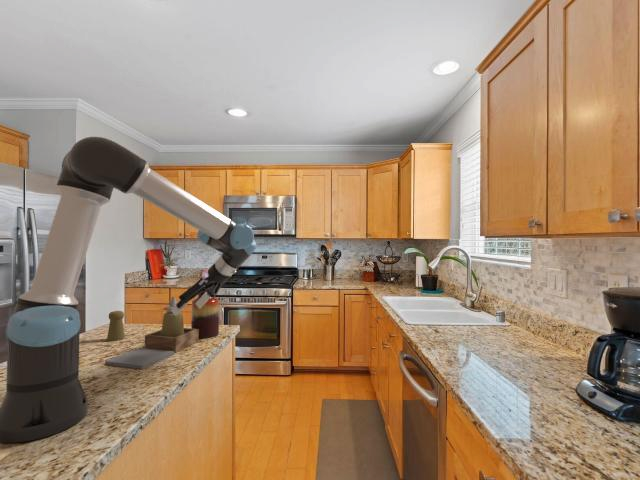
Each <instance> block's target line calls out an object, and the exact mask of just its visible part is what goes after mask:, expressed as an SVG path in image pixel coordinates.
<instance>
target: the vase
mask: <svg viewBox="0 0 640 480" xmlns="http://www.w3.org/2000/svg"><path fill="white" fill-rule="evenodd" d="M203 288H204V287H203ZM204 289H205V288H204ZM205 292H207V293H208V290H206V291H205ZM205 292H201V293H200V294H198V295H197V296H196V297H195V298H193V299H191V320H190V321H191V326H190V327H191V329H199V340H201V339H211V338H215V337H218V336H219V334H220V299H219V298H217V297H216V296H215V297H214V298H212V297H211V298H210V299H209V300H208V301H207V302H206V303H205V304H204V305H203V306H202V307H201V308H200V309H199V308H198V306H197V305H196V304H195V303H196V302H197V301H198V300H199V299H200V298H201V297H202V296H203V294H204V293H205Z"/></svg>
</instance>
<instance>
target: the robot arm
mask: <svg viewBox="0 0 640 480" xmlns="http://www.w3.org/2000/svg"><path fill="white" fill-rule="evenodd" d="M55 188H56V189H57V191H58V192H59V193H60V199H59V201H58V205H57V207H56V211H55V213H54V216H53V220H52V222H51V225H50V229H49V232H48V235H47V238H46V241H45V243H44V247H43V250H42V253H41V256H40V259H39V262H38V265H37V267H36V271H35V274H34V277H33V280H32V282H31V283H32V284H31V286H30V288H29V290H28V291H26V292H25V293H24V292H23V293H22V294H20V295H19V296H18V298H17V302H16V305H15V308H14V311H13V313H12V315H11V316H10V318H9V319H8V322H7V323H6V324H7V325H6V327H5V338H6V345H7V346H6V347H7V349H6V350H7V353H6V356H7V357H6V387H5V388H6V389H5V390H6V391H5V395H4V398H3V400H2V402H1V404H0V443H3V444H4V443H6V444H13V443H15V444H16V443H23V442H31V441H35V440H39V439H40V440H41V439H43V438H47V437H50V436H53V435H56V434H58V433H61V432H63V431H65V430H67V429H69V428H71V427H73V426H75V425H77V424H78V423H79V422H81V421H82V420H83V419H84V418H85V417H86V416H87V414H88V399H87V397H86V394H85V390H84V389H83V386H82V384H81V381H80V377H79V374H80V373H79V372H80V371H79V370H80V367H79V365H80V329H81V325H82V321H81V318H80V312H79V311H78V310H77V309H78V306H79V301H78V300H77V298H76V297H75V291H76V288H77V285H78V281H79V279H80V276H81V272H82V269H83V266H84V262H85V259H86V256H87V253H88V249H89V246H90V243H91V239H92V236H93V233H94V230H95V226H96V223H97V221H98V217H99V213H100V210H101V207H102V206H103V205H106V204H107V203H109V202H110V201H111V198H112V194H113V191H114V189H115V190H117V191H119V192H121V193H123V194H126V195H127V194H128V195H129V194H134V195H135V196H137V197H139V198H141V199H143V200H144V201H146V202H148V203H150V204H151V205H153V206H155V207H157V208H159V209H160V210H162V211H164V212H166V213H167V214H169V215H171V216H173V217H175V218H176V219H178V220H179V221H182V222H184V223H185V224H186V225H187V224H188V225H189V226H191V227H192V228H195V229H196V230H198V231H197V234H196V235H197V236H196V239H197V240H198V241H199V242H201V243H203V244H204V245H205V246H208V247H210V248H212V249H214V250H215V251H217V252H220V253H221V255H220V256H219V257H218V258H217V259H216V260H215V262H214V263H212V265H211V266H210V267H209V269H208V270H207V274H208V275H207V277H205V278H202V277H200V279H198V281H197V282H196V283H194V284H193V285H192V286H191V287H189V288H188V289H187V290H186V291H184V292H182V293H181V294H180V295H179V296H178V299H179V301H178V302H176V303H177V304H176V305H175V306H174V307H173V308H172V309H171V311H172V312H173V314H174V315H175V316H177V315H178V314H179V313H180V312H182V311H183V309H185V307H186V306H187V305H188V304H189V302H190V301H192V300H194V299H195V298H197V297H198V294H200V293H201V292H205V291H206V290H208V293H207V292H205V293H204V294H203V296H202V297H201V298H200V299H199V300H198V301H197V302H196V303H195V304H196V305H197V306H198V308H199V309H200V308H201V307H202V306H203V305H204V304H205V303H206V302H207V301H208V300H209V299H210V298H211V297H212V298H214V297H215V298H216V296H215V295H217V294H218V293H219V291H220V290H221V287H222V286H223V284H225V283H226V282H227V281H229V280H230V278H231V276H232V275H234V274H236V273H237V270H238V269H239V268H240V267H241V266H242V265H243V263H245V262H246V260H248V258H250V256H252V254H253V253H254V251H255V250H256V249H257V242H256V240H255V235H254V231H253V228H252V227H251V226H249V225H248V224H244V223H238V222H236V221H234V220H233V219H231V218H229V217H227V216H226V215H224V214H223V213H222V212H219V211H218V210H216V209H215V208H213V207H212V206H211V205H209V204H207V203H205V202H203V201H202V200H200V199H199V198H198V197H196V196H194V195H192V194H191V193H190V192H188V191H187V190H185V189H183V188H181V187H180V186H178V185H177V184H175V183H174V182H172V181H171V180H169V179H167V178H166V177H164V176H163V175H161V174H159V173H158V172H156V171H155V170H154V169H152V168H150V165H149V162H148V161H147V160H145V159H143V158H142V157H140V156H139V155H137V154H136V153H134V152H133V151H131V150H129V149H128V148H127V147H124V146H123V145H121V144H119V143H117V142H116V141H113V140H111V139H109V138H105V137H102V136H88V137H84V138H81V139H80V140H79V141H76V143H75V144H73V146H72V147H71V149H70V151H68V152H67V153H66V154H65V156H64V157H63V159H62V162H61V170H60V174H59V177H58V181H57V183H56V186H55ZM203 287H204V288H205V289H204V288H203Z"/></svg>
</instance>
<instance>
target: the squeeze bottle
mask: <svg viewBox="0 0 640 480" xmlns="http://www.w3.org/2000/svg"><path fill="white" fill-rule="evenodd" d="M177 303H178V302H177V300H176V296H171V300H170V303H169V306H166V312H165V313H163V317H162V325H161V330H162V332H161V336H167V337H178V336H180V335H183V334H184V328H185V326H184V317H183V312H182V311H181V312H180V313H179V314H178V315H177V316H175V315H174V314H173V312H172V311H171V309H172V308H173V307H174V306H175V305H176V304H177Z"/></svg>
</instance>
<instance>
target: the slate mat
mask: <svg viewBox="0 0 640 480" xmlns="http://www.w3.org/2000/svg"><path fill="white" fill-rule="evenodd" d="M174 355H175V353H174V351H166V350H157V349H147V348H145V347H139V348H136V349H133V350H131V351H128V352H126V353H123V354H120V355H117V356H116V357H112V358H109V359H108V360H105V361H104V365H105V366H106V365H108V366H115V367H121V368H123V367H124V368H129V369H130V368H131V369H137V370H138V369H140V370H143V369H146V368H149V366H152V365H154V364H156V363H159V362H161V361H162V360H165V359H167V358H170V357H171V356H174Z"/></svg>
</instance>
